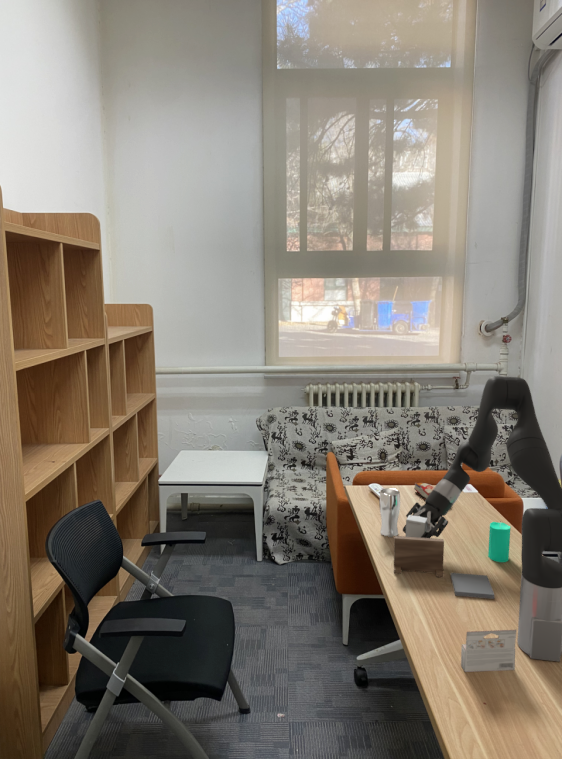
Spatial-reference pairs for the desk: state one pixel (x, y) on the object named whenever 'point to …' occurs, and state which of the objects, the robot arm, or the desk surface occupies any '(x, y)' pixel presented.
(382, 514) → the beer glass
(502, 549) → the candle
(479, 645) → the ink cartridge box
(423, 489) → the paperback book
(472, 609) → the desk surface
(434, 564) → the walnut screen
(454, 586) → the grey mat
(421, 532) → the skincare box
